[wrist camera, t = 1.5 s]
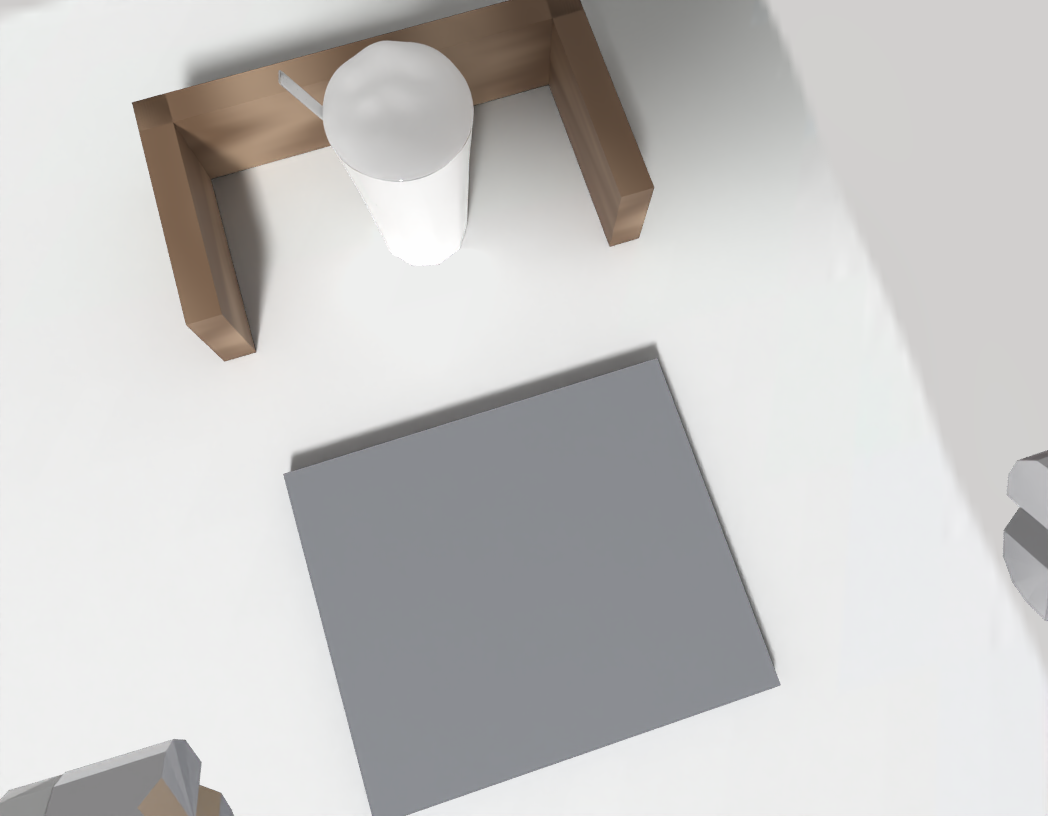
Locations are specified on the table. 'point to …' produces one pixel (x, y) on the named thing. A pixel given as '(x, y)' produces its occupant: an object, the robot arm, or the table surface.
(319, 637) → the table surface
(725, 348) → the table surface
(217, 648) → the table surface
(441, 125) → the milkshake
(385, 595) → the grey pad
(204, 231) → the walnut cubby
